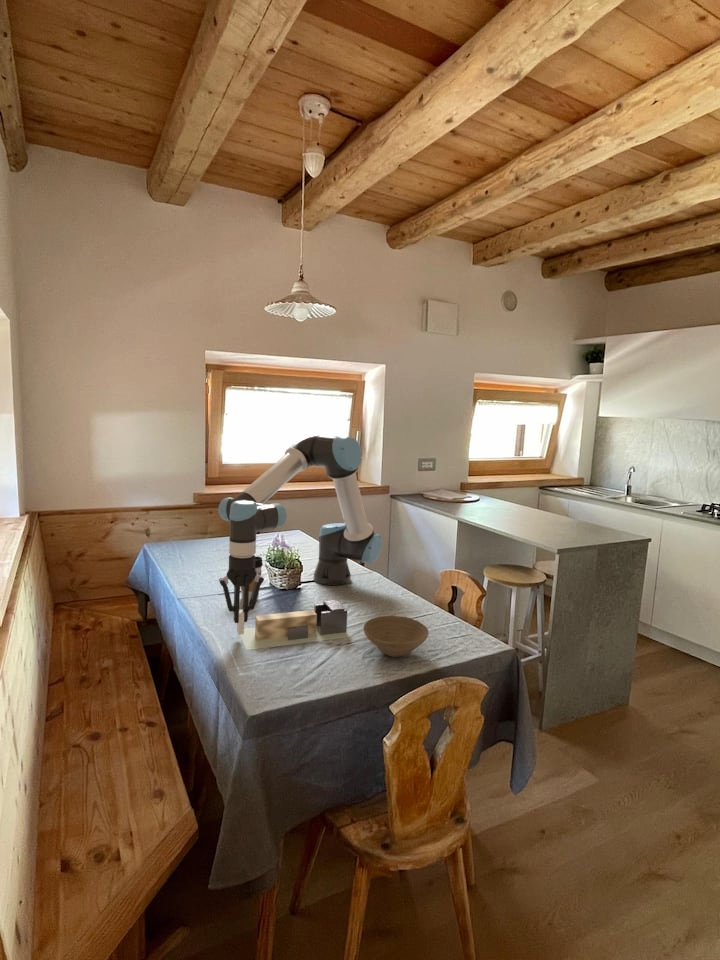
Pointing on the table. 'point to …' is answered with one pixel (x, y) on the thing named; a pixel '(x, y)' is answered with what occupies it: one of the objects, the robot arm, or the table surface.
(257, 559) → the coffee cup
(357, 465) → the robot arm
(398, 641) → the bowl
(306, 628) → the open saddle
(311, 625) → the pine slat
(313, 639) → the sage board
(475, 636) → the table surface
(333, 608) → the end cap
